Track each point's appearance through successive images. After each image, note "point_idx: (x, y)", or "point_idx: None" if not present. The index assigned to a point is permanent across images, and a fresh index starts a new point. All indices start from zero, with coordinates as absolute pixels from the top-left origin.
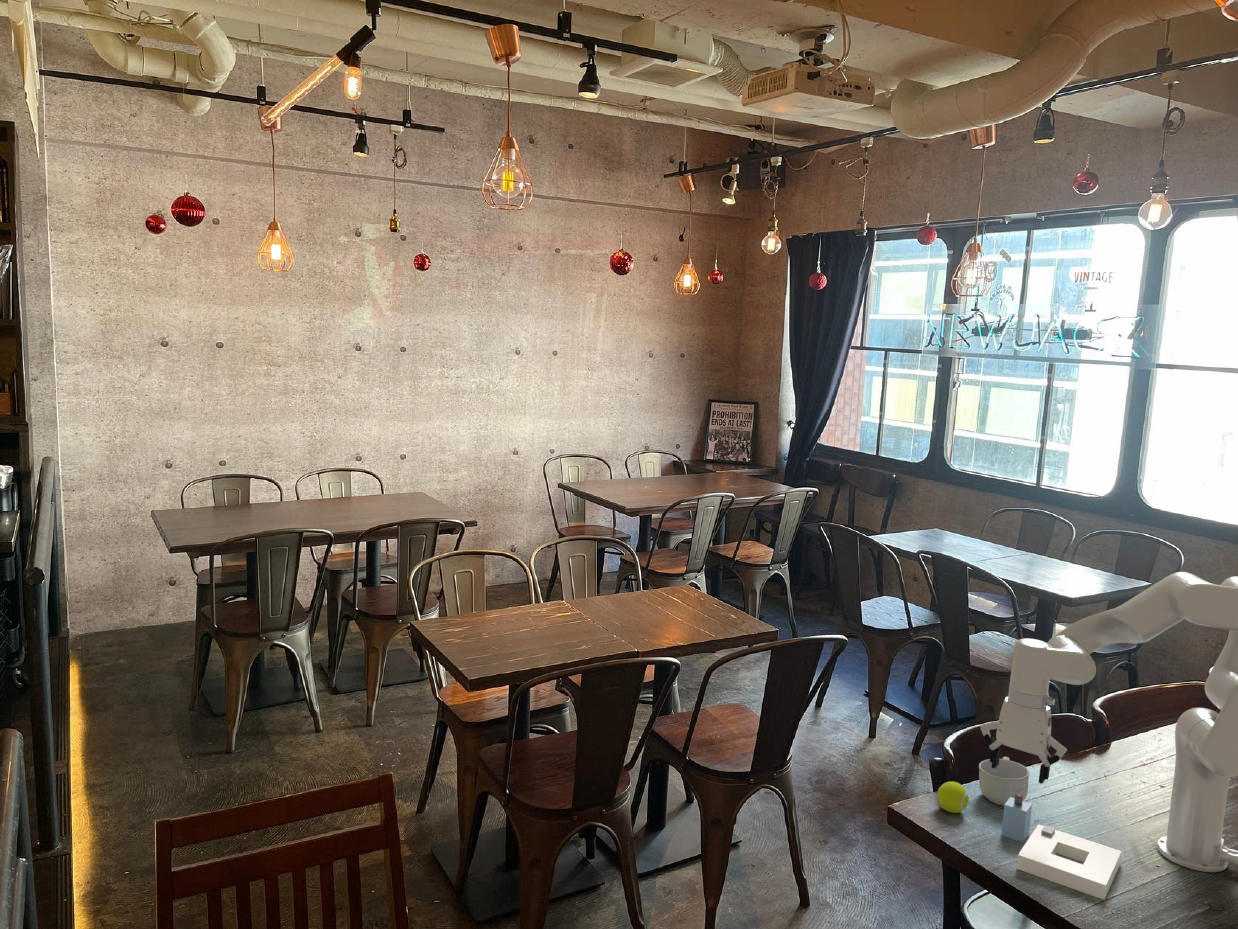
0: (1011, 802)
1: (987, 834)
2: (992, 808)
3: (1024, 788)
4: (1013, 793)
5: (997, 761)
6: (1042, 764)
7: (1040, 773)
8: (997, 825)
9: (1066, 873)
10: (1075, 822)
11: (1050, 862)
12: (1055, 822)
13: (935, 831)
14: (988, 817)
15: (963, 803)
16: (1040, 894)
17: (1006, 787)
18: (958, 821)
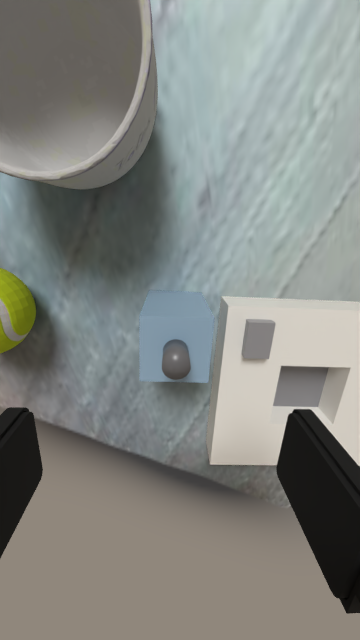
0: (154, 353)
1: (122, 354)
2: (83, 203)
3: (150, 112)
4: (122, 167)
5: (19, 472)
6: (356, 595)
7: (308, 532)
8: (127, 297)
9: None
10: (307, 122)
11: (271, 454)
12: (253, 168)
13: (33, 409)
14: (95, 269)
15: (25, 334)
16: (252, 481)
17: (92, 178)
18: (48, 338)
